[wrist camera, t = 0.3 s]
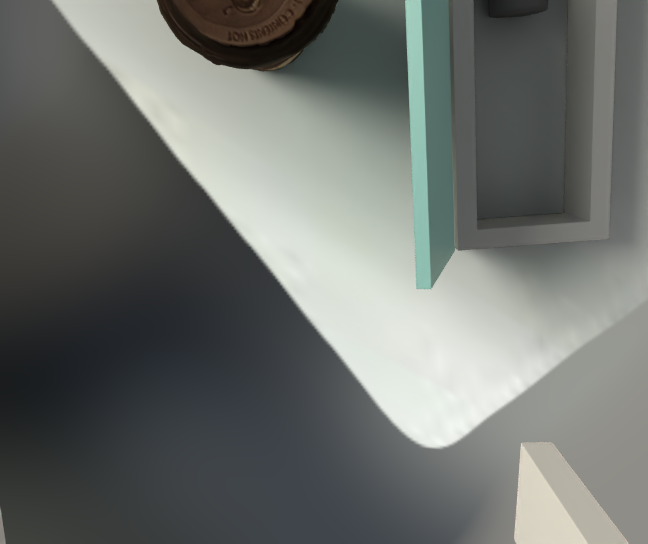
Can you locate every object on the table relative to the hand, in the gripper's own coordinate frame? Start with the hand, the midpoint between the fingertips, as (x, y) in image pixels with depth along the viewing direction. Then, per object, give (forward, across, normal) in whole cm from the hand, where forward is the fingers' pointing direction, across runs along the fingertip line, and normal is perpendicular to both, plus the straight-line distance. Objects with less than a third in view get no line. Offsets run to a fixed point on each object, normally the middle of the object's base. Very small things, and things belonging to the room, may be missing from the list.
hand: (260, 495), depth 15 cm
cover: (+19, +8, +10) cm, 23 cm away
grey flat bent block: (+27, +14, +11) cm, 33 cm away
